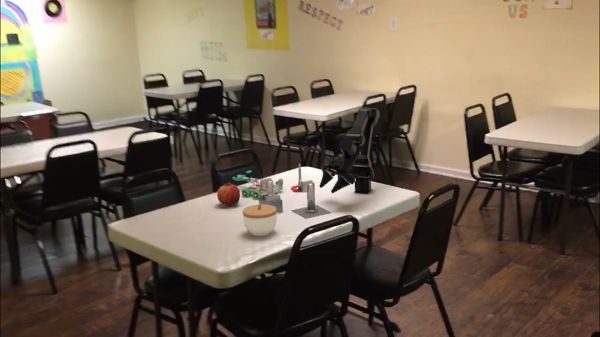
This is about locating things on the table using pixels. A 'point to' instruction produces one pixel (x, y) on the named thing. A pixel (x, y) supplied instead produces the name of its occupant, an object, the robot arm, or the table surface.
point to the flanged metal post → (310, 196)
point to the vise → (270, 195)
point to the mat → (308, 215)
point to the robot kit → (256, 185)
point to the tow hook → (298, 183)
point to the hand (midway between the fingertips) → (325, 190)
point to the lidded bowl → (260, 219)
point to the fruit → (228, 194)
